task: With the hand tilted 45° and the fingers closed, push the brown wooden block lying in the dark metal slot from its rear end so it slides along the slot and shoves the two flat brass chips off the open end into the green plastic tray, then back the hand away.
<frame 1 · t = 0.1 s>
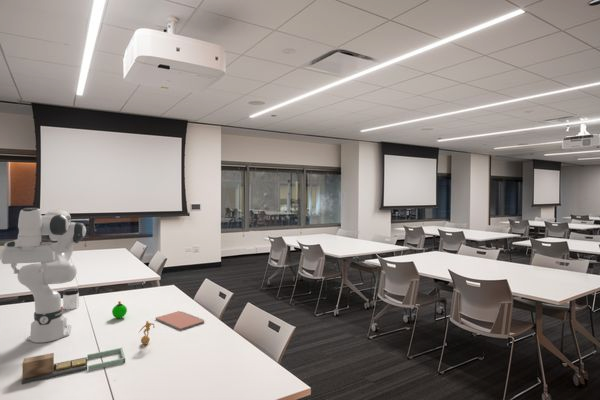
hand: (28, 272, 166), 39 cm above the table, tool pointing down, fingers open, 8 cm apart
jar: (71, 308, 237), on the table
figurine: (146, 344, 180), on the table
brass chip 2: (78, 366, 155), point 1 cm above the table, touching slot bed
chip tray: (106, 363, 160), on the table
slot bed: (56, 373, 151), on the table
brown wooden block: (38, 374, 147), point 1 cm above the table, touching slot bed
notebook: (180, 322, 213), on the table
brass chip 1: (63, 369, 152), point 1 cm above the table, touching slot bed
ornament: (119, 318, 218), on the table
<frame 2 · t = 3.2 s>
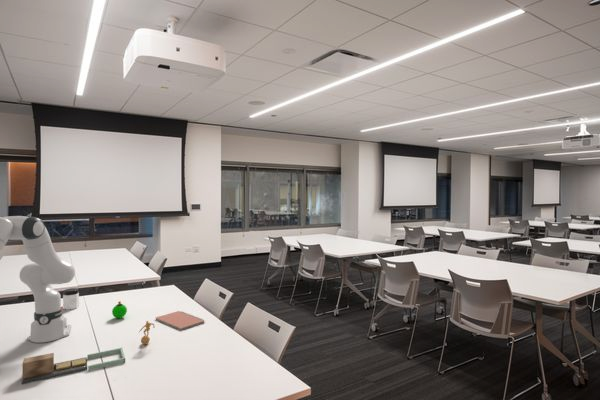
nothing on the table moved.
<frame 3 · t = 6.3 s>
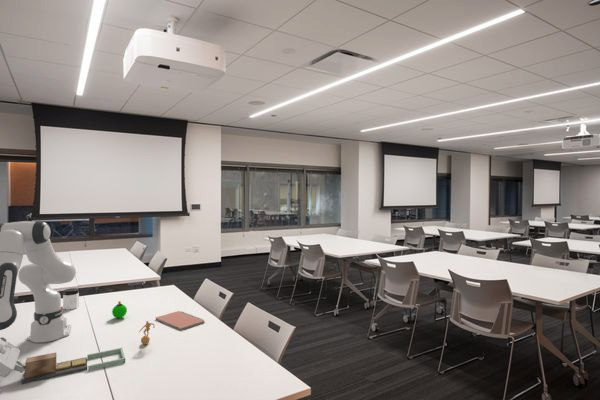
hand: (24, 369, 145), 4 cm above the table, tool tilted 45°, fingers closed, pressing on brown wooden block
brown wooden block: (41, 374, 148), point 1 cm above the table, touching gripper
everything else where it was.
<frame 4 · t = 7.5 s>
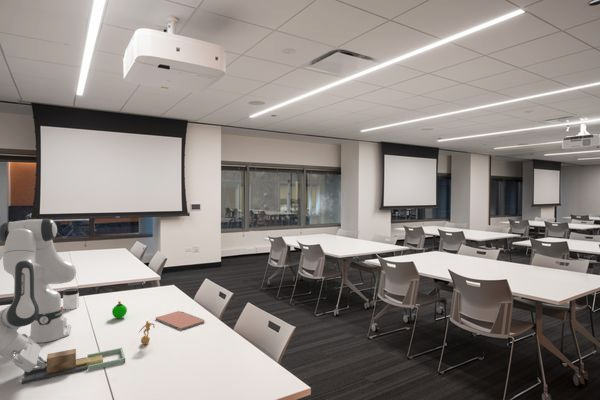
hand: (45, 365, 148), 5 cm above the table, tool tilted 45°, fingers closed, pressing on brown wooden block
brass chip 2: (96, 363, 158), point 1 cm above the table, touching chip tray
brown wooden block: (61, 370, 151), point 1 cm above the table, touching gripper, slot bed
brass chip 1: (82, 365, 155), point 1 cm above the table
everything else where it was.
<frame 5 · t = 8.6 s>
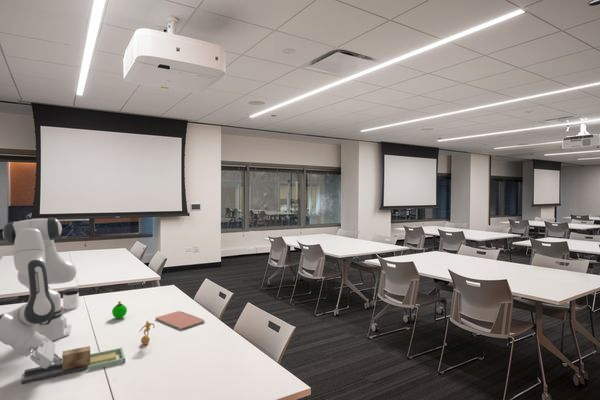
hand: (60, 362, 151), 5 cm above the table, tool tilted 45°, fingers closed
brass chip 2: (109, 360, 161), point 1 cm above the table, touching brass chip 1, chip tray
brown wooden block: (76, 366, 154), point 1 cm above the table, touching brass chip 1, slot bed
brass chip 1: (96, 363, 158), point 1 cm above the table, touching brass chip 2, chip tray, brown wooden block
everything else where it was.
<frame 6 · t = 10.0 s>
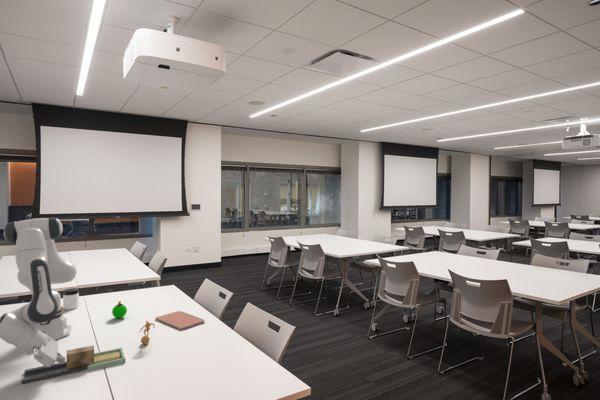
hand: (63, 361, 152), 5 cm above the table, tool tilted 45°, fingers closed
brass chip 2: (113, 359, 162), point 1 cm above the table, touching brass chip 1, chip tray
brown wooden block: (80, 366, 155), point 1 cm above the table, touching brass chip 1, slot bed
brass chip 1: (100, 362, 159), point 1 cm above the table, touching brass chip 2, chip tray, brown wooden block
everything else where it was.
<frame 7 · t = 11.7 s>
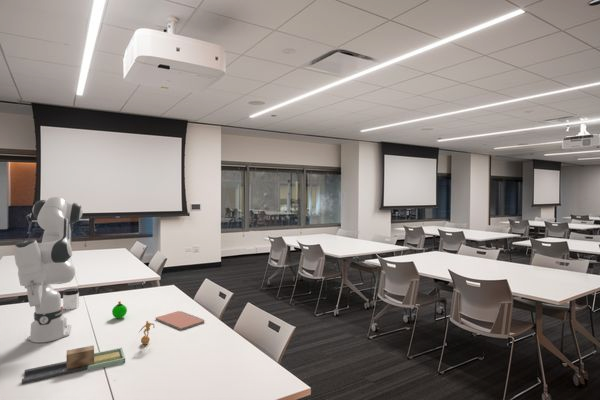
hand: (38, 309, 154), 26 cm above the table, tool pointing down, fingers closed
nothing on the table moved.
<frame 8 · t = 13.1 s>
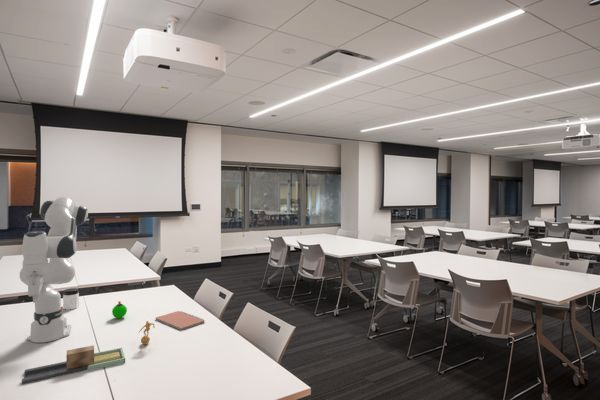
hand: (36, 301, 154), 29 cm above the table, tool pointing down, fingers closed
nothing on the table moved.
at the end: brass chip 1 2.2 cm from the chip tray (horizontally); brass chip 2 2.8 cm from the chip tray (horizontally); brown wooden block moved 14.6 cm from its start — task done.
